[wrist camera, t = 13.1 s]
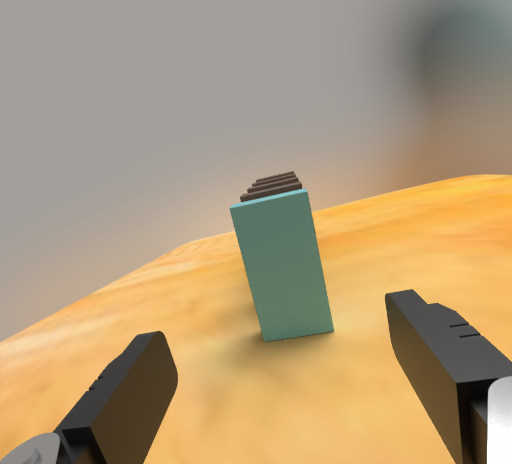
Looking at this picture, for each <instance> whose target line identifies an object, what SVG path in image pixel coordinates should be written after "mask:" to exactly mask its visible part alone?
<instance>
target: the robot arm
mask: <svg viewBox="0 0 512 464" xmlns="http://www.w3.org/2000/svg"><path fill="white" fill-rule="evenodd" d="M385 303H386V310H387V317H388V324H389V331H390V338H391V343H392V347H393V350H394V353H395V355H396V358H397V360H398V362H399V364H400V365H401V367H402V369H403V371H404V372H405V374H406V376H407V378H408V380H409V381H410V383H411V385H412V387H413V388H414V390H415V392H416V394H417V396H418V397H419V399H420V401H421V403H422V404H423V406H424V408H425V410H426V412H427V413H428V415H429V417H430V419H431V420H432V422H433V424H434V426H435V428H436V429H437V431H438V433H439V435H440V436H441V438H442V440H443V442H444V443H445V445H446V447H447V449H448V451H449V452H450V454H451V456H452V458H453V459H454V461H455V463H456V464H512V362H511V361H510V360H509V359H508V358H507V357H506V356H505V355H504V354H502V353H501V352H500V351H499V350H498V349H497V348H496V347H495V346H494V345H492V344H491V343H490V342H489V341H488V340H487V339H486V338H485V337H484V336H481V335H480V333H479V332H478V331H477V330H476V329H475V328H474V327H473V326H470V325H469V323H468V322H467V321H466V320H465V319H464V318H463V317H461V316H460V315H459V314H458V313H457V312H456V311H454V310H452V309H450V308H447V307H445V306H443V305H441V304H439V303H434V304H427V303H426V302H425V301H424V300H423V299H422V298H421V297H420V296H419V295H418V294H417V293H416V292H415V291H414V290H412V289H411V290H405V291H399V292H393V293H387V294H386V295H385ZM177 383H178V374H177V369H176V366H175V363H174V360H173V357H172V355H171V352H170V349H169V346H168V343H167V340H166V338H165V335H164V334H163V333H162V332H161V331H156V332H150V333H144V334H139V335H137V336H136V337H135V338H134V339H133V340H132V342H131V343H130V344H129V345H128V347H127V348H126V349H125V350H124V352H123V353H122V354H121V355H119V356H118V357H117V358H116V359H114V360H113V361H112V362H111V363H109V364H108V365H107V367H106V368H105V369H104V370H103V372H102V373H101V374H100V375H99V376H98V380H95V381H94V383H93V384H92V385H91V386H90V387H89V391H86V392H85V393H84V395H83V396H82V397H81V398H80V400H79V401H78V402H77V403H76V404H75V406H74V407H73V408H72V409H71V411H70V412H69V413H68V414H67V415H66V417H65V418H64V419H63V420H62V422H61V423H60V424H59V425H58V426H57V428H56V429H55V430H54V431H53V432H52V433H44V434H41V435H38V436H35V437H33V438H31V439H29V440H27V441H26V442H24V443H22V444H21V445H19V446H18V447H16V448H15V449H14V450H12V451H11V452H10V453H9V454H7V455H6V456H5V457H4V458H3V459H2V460H1V461H0V464H143V463H144V461H145V458H146V456H147V454H148V452H149V449H150V447H151V445H152V443H153V440H154V438H155V436H156V434H157V431H158V429H159V427H160V425H161V422H162V420H163V418H164V416H165V413H166V411H167V409H168V407H169V405H170V402H171V400H172V398H173V396H174V393H175V391H176V388H177Z"/></svg>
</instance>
